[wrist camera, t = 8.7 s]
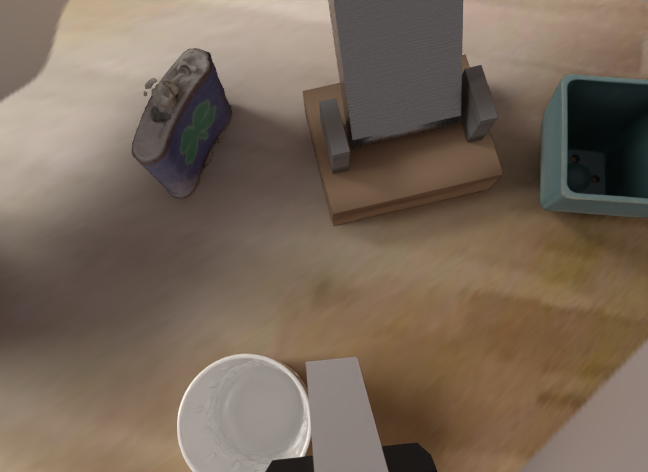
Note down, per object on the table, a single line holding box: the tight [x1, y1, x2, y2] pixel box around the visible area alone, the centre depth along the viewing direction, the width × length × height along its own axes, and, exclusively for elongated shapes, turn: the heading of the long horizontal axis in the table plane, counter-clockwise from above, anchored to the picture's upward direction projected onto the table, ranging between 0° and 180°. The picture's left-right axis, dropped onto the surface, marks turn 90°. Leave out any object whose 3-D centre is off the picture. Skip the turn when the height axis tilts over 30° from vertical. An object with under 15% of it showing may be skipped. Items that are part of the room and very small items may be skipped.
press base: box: [303, 55, 503, 226], centre depth 42 cm, size 10×13×8 cm
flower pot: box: [540, 74, 648, 218], centre depth 41 cm, size 9×9×9 cm
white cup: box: [177, 354, 311, 472], centre depth 37 cm, size 8×8×10 cm
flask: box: [132, 48, 232, 198], centre depth 41 cm, size 9×3×11 cm, turn 155°
